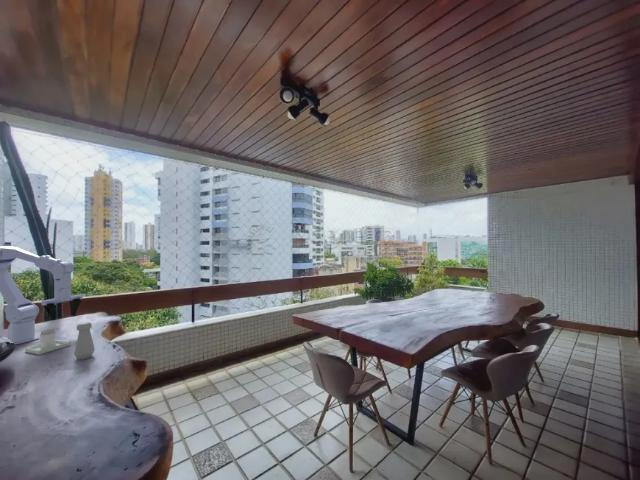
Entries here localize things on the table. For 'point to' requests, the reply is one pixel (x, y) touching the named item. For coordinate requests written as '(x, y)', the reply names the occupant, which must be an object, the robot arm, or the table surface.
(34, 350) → the tray
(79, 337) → the salt shaker
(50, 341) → the white shaker
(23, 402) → the table surface
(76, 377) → the table surface
